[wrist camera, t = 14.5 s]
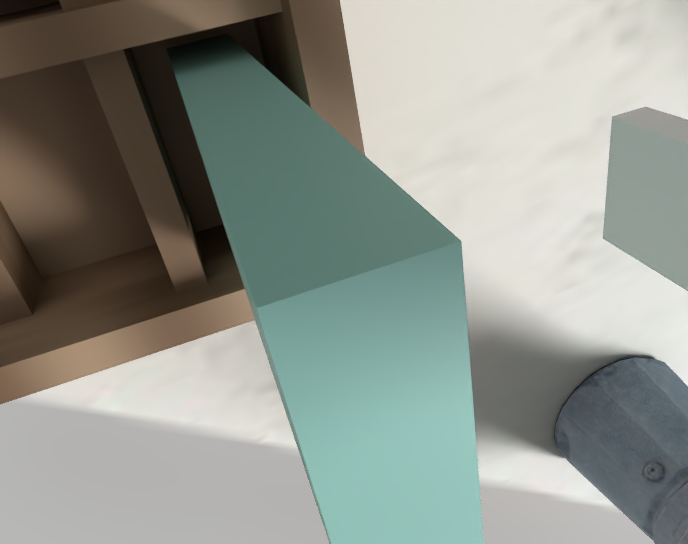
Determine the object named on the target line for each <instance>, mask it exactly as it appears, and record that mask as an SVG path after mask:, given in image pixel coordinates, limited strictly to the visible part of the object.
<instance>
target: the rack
mask: <svg viewBox="0 0 688 544" xmlns="http://www.w3.org/2000/svg"><path fill="white" fill-rule="evenodd" d="M225 34H228V35H229V36H230V37H231V38H232V39H233V40H234V41H236V42H237V43H238V44H239V45H240V46H241V47H242V48H243V49H245V50H246V51H247V52H248V53H249V54H250V55H251V56H252V57H254V58H255V59H256V60H257V61H258V62H259V63H260V64H262V65H263V66H264V67H265V68H266V69H267V70H268V71H269V72H271V73H272V74H273V75H274V76H275V77H276V78H277V79H278V80H280V81H281V82H282V83H283V84H284V85H285V86H286V87H288V88H289V89H290V90H291V91H292V92H293V93H294V94H295V95H297V96H298V97H299V98H300V99H301V100H302V101H303V102H305V103H306V104H307V105H308V106H309V107H310V108H311V109H312V110H314V111H315V112H316V113H317V114H318V115H319V116H320V117H321V118H323V119H324V120H325V121H326V122H327V123H328V124H329V125H331V126H332V127H333V128H334V129H335V130H336V131H337V132H338V133H340V134H341V135H342V136H343V137H344V138H345V139H346V140H347V141H349V142H350V143H351V144H352V145H353V146H354V147H355V148H357V149H358V150H359V151H360V152H361V153H362V154H363V155H364V156H365V153H364V147H363V141H362V135H361V128H360V122H359V116H358V110H357V104H356V98H355V92H354V86H353V79H352V73H351V67H350V61H349V55H348V49H347V43H346V37H345V30H344V24H343V18H342V12H341V6H340V0H0V404H3V403H5V402H9V401H12V400H15V399H18V398H21V397H24V396H27V395H30V394H33V393H36V392H39V391H42V390H45V389H48V388H51V387H54V386H57V385H60V384H63V383H66V382H69V381H72V380H75V379H78V378H81V377H84V376H87V375H90V374H93V373H96V372H99V371H102V370H105V369H108V368H111V367H114V366H117V365H120V364H123V363H126V362H129V361H132V360H135V359H138V358H141V357H144V356H147V355H150V354H153V353H156V352H159V351H162V350H165V349H168V348H171V347H174V346H177V345H180V344H183V343H186V342H189V341H192V340H195V339H198V338H201V337H204V336H207V335H210V334H213V333H216V332H219V331H222V330H225V329H229V328H232V327H235V326H238V325H241V324H244V323H247V322H250V321H253V320H255V318H254V315H253V312H252V309H251V306H250V303H249V300H248V297H247V294H246V291H245V288H244V285H243V282H242V279H241V276H240V273H239V270H238V267H237V264H236V261H235V258H234V255H233V252H232V249H231V246H230V243H229V240H228V237H227V234H226V231H225V228H224V225H223V222H222V219H221V216H220V213H219V210H218V207H217V204H216V201H215V198H214V195H213V192H212V189H211V186H210V182H209V179H208V176H207V173H206V170H205V167H204V164H203V161H202V158H201V155H200V152H199V149H198V145H197V142H196V139H195V136H194V133H193V130H192V127H191V124H190V121H189V118H188V115H187V112H186V108H185V105H184V102H183V99H182V96H181V93H180V90H179V87H178V84H177V81H176V78H175V75H174V71H173V68H172V65H171V62H170V59H169V56H168V53H167V50H166V48H170V47H175V46H179V45H183V44H187V43H191V42H195V41H200V40H204V39H208V38H212V37H216V36H220V35H225Z"/></svg>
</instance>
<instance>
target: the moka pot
mask: <svg viewBox="0 0 688 544" xmlns="http://www.w3.org/2000/svg"><path fill="white" fill-rule="evenodd" d="M555 443H556V446H557V448H558V449H559V450H560V452H561V453H562V454H563V456H564V457H565V458H566V459H567V460H568V461H569V462H570V463H571V464H572V465H573V466H574V467H575V468H576V469H577V470H578V471H579V472H580V473H581V474H582V475H583V476H584V477H585V478H587V479H588V480H589V481H590V482H591V483H592V484H593V485H594V486H595V487H596V488H597V489H598V490H599V491H600V492H602V493H603V494H604V495H605V496H606V497H607V498H608V499H609V500H610V501H611V502H612V503H613V504H614V505H615V506H616V507H618V508H619V509H620V510H621V511H622V512H623V513H624V514H625V515H626V516H627V517H628V518H629V519H630V520H631V521H633V522H634V523H635V524H636V525H637V526H638V527H639V528H640V529H641V530H642V531H643V532H644V533H645V534H646V535H647V536H649V537H650V538H651V539H652V540H653V541H654V543H655V544H688V387H687V385H686V384H685V383H684V382H683V381H682V380H681V379H680V378H679V377H678V376H677V375H676V374H675V373H674V372H673V371H672V370H671V369H670V368H669V367H668V366H667V365H666V364H665V363H664V362H662V361H659V360H655V359H650V358H648V359H647V358H638V357H635V358H630V359H626V360H620V361H618V362H616V363H613V364H611V365H609V366H606V367H604V368H603V369H601V370H598V371H597V372H596V373H594V374H593V375H591V376H590V377H589V378H588V379H587V380H585V381H584V382H583V383H582V384H581V385H580V386H579V387H578V388H577V389H576V390H575V391H574V392H573V393H572V395H571V396H570V397H569V399H568V400H567V402H566V403H565V405H564V406H563V408H562V410H561V412H560V415H559V417H558V420H557V423H556V428H555Z"/></svg>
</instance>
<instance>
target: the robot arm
mask: <svg viewBox="0 0 688 544" xmlns="http://www.w3.org/2000/svg"><path fill="white" fill-rule="evenodd" d="M603 239H605V240H606V241H608V242H610V243H611V244H613V245H614V246H616V247H618V248H619V249H621V250H623V251H624V252H626V253H627V254H629V255H631V256H632V257H634V258H635V259H637V260H639V261H640V262H642V263H643V264H645V265H647V266H648V267H650V268H652V269H653V270H655V271H656V272H658V273H660V274H661V275H663V276H664V277H666V278H668V279H669V280H671V281H673V282H674V283H676V284H677V285H679V286H681V287H682V288H684V289H685V290H687V291H688V120H687V119H683V118H680V117H677V116H674V115H671V114H667V113H664V112H661V111H658V110H654V109H651V108H648V107H643V108H640V109H636V110H633V111H630V112H626V113H623V114H620V115H616V116H613V117H612V126H611V139H610V152H609V165H608V178H607V191H606V204H605V218H604V231H603Z"/></svg>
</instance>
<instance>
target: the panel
mask: <svg viewBox="0 0 688 544" xmlns="http://www.w3.org/2000/svg"><path fill="white" fill-rule="evenodd" d="M166 50H167V53H168V56H169V59H170V62H171V65H172V68H173V71H174V75H175V78H176V81H177V84H178V87H179V90H180V93H181V96H182V99H183V102H184V105H185V108H186V112H187V115H188V118H189V121H190V124H191V127H192V130H193V133H194V136H195V139H196V142H197V145H198V149H199V152H200V155H201V158H202V161H203V164H204V167H205V170H206V173H207V176H208V179H209V182H210V186H211V189H212V192H213V195H214V198H215V201H216V204H217V207H218V210H219V213H220V216H221V219H222V222H223V225H224V228H225V231H226V234H227V237H228V240H229V243H230V246H231V249H232V252H233V255H234V258H235V261H236V264H237V267H238V270H239V273H240V276H241V279H242V282H243V285H244V288H245V291H246V294H247V297H248V300H249V303H250V306H251V309H252V312H253V315H254V318H255V321H256V324H257V327H258V330H259V333H260V336H261V339H262V342H263V345H264V348H265V351H266V354H267V357H268V360H269V363H270V366H271V369H272V372H273V375H274V378H275V381H276V384H277V387H278V390H279V393H280V396H281V399H282V402H283V405H284V408H285V411H286V414H287V417H288V420H289V423H290V426H291V429H292V432H293V435H294V438H295V441H296V444H297V447H298V450H299V453H300V456H301V459H302V462H303V465H304V467H305V471H306V474H307V477H308V480H309V483H310V486H311V489H312V492H313V495H314V498H315V501H316V504H317V506H318V509H319V513H320V516H321V519H322V521H323V525H324V527H325V531H326V533H327V537H328V540H329V543H330V544H484V540H483V526H482V514H481V500H480V486H479V473H478V460H477V446H476V433H475V420H474V406H473V393H472V380H471V366H470V353H469V340H468V326H467V313H466V300H465V286H464V273H463V260H462V246H461V240H459V239H458V238H457V237H456V236H455V235H454V234H453V233H452V232H450V231H449V230H448V229H447V228H446V227H445V226H444V225H442V224H441V223H440V222H439V221H438V220H437V219H436V218H435V217H433V216H432V215H431V214H430V213H429V212H428V211H427V210H426V209H424V208H423V207H422V206H421V205H420V204H419V203H418V202H416V201H415V200H414V199H413V198H412V197H411V196H410V195H409V194H407V193H406V192H405V191H404V190H403V189H402V188H401V187H400V186H398V185H397V184H396V183H395V182H394V181H393V180H392V179H390V178H389V177H388V176H387V175H386V174H385V173H384V172H383V171H381V170H380V169H379V168H378V167H377V166H376V165H375V164H373V163H372V162H371V161H370V160H369V159H368V158H367V157H366V156H364V155H363V154H362V153H361V152H360V151H359V150H358V149H357V148H355V147H354V146H353V145H352V144H351V143H350V142H349V141H347V140H346V139H345V138H344V137H343V136H342V135H341V134H340V133H338V132H337V131H336V130H335V129H334V128H333V127H332V126H331V125H329V124H328V123H327V122H326V121H325V120H324V119H323V118H321V117H320V116H319V115H318V114H317V113H316V112H315V111H314V110H312V109H311V108H310V107H309V106H308V105H307V104H306V103H305V102H303V101H302V100H301V99H300V98H299V97H298V96H297V95H295V94H294V93H293V92H292V91H291V90H290V89H289V88H288V87H286V86H285V85H284V84H283V83H282V82H281V81H280V80H278V79H277V78H276V77H275V76H274V75H273V74H272V73H271V72H269V71H268V70H267V69H266V68H265V67H264V66H263V65H262V64H260V63H259V62H258V61H257V60H256V59H255V58H254V57H252V56H251V55H250V54H249V53H248V52H247V51H246V50H245V49H243V48H242V47H241V46H240V45H239V44H238V43H237V42H236V41H234V40H233V39H232V38H231V37H230V36H229V35H228V34H225V35H220V36H216V37H212V38H208V39H204V40H200V41H195V42H191V43H187V44H183V45H179V46H175V47H170V48H166Z"/></svg>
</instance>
